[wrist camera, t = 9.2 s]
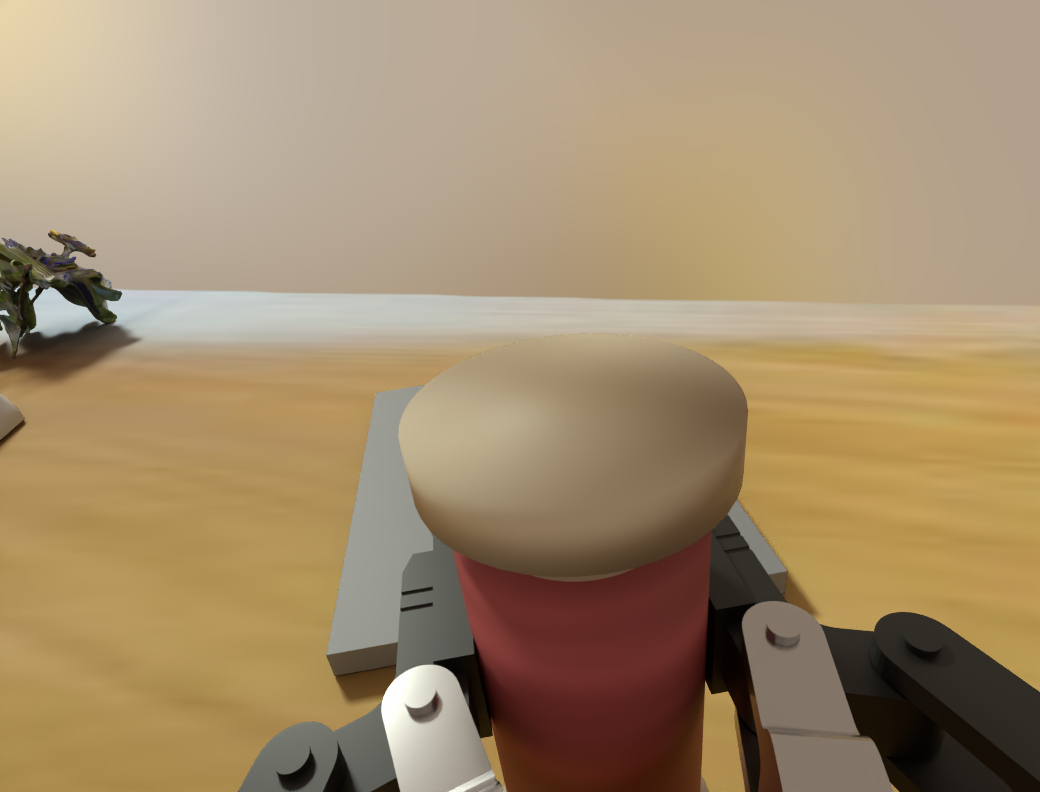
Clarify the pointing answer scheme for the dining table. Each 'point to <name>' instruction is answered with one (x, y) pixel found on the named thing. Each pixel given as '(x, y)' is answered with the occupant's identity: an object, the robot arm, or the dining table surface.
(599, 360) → the bobbin
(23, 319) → the passion flower
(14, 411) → the flask
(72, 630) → the dining table surface
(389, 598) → the board
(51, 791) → the dining table surface
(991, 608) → the dining table surface
